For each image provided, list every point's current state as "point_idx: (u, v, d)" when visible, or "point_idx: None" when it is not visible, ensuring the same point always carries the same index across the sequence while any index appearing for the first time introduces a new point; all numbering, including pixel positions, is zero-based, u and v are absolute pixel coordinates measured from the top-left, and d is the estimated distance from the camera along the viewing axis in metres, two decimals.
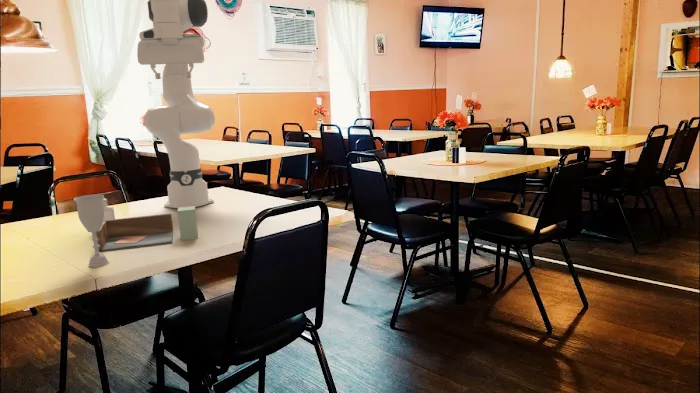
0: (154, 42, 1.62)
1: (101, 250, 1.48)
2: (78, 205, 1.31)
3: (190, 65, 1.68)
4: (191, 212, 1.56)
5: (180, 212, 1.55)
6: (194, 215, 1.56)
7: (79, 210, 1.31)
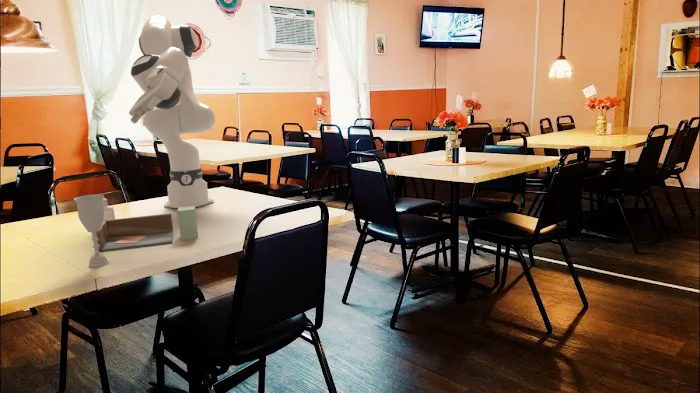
0: None
1: (101, 250, 1.48)
2: (78, 205, 1.31)
3: (140, 116, 1.62)
4: (191, 212, 1.56)
5: (180, 212, 1.55)
6: (194, 215, 1.56)
7: (79, 210, 1.31)
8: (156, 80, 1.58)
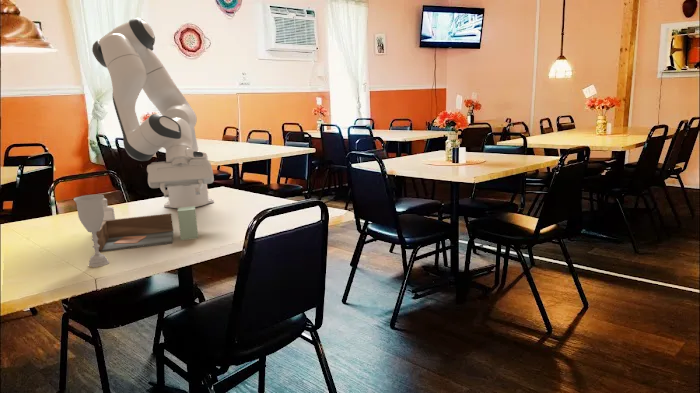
0: None
1: (101, 250, 1.48)
2: (78, 205, 1.31)
3: None
4: (191, 212, 1.56)
5: (180, 212, 1.55)
6: (194, 215, 1.56)
7: (79, 210, 1.31)
8: (194, 162, 1.69)
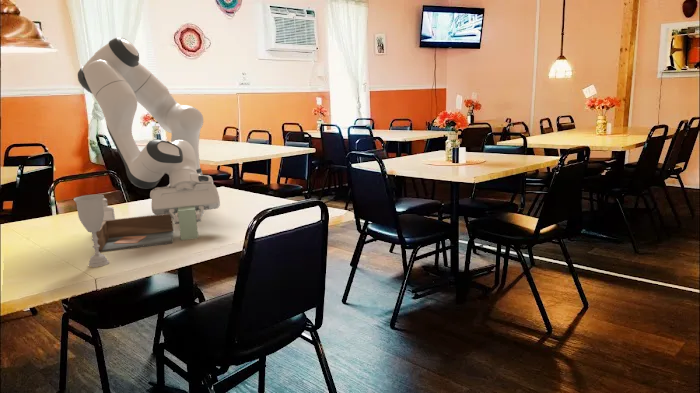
0: None
1: (101, 250, 1.48)
2: (78, 205, 1.31)
3: None
4: (191, 211, 1.56)
5: (180, 212, 1.55)
6: (194, 215, 1.56)
7: (79, 210, 1.31)
8: (199, 186, 1.63)
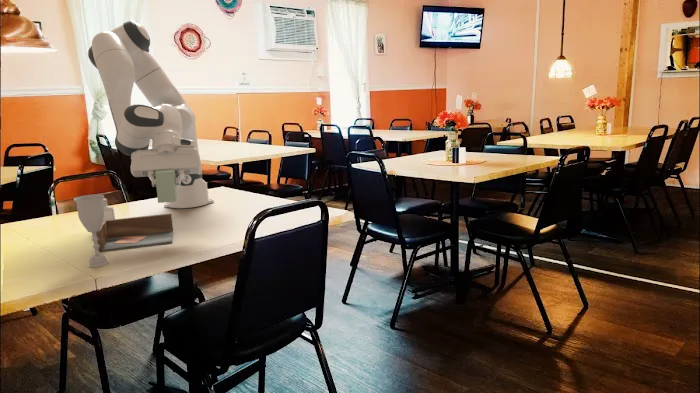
0: None
1: (101, 250, 1.48)
2: (78, 205, 1.31)
3: None
4: (169, 174, 1.52)
5: (158, 173, 1.51)
6: (172, 177, 1.52)
7: (79, 210, 1.31)
8: (181, 150, 1.59)
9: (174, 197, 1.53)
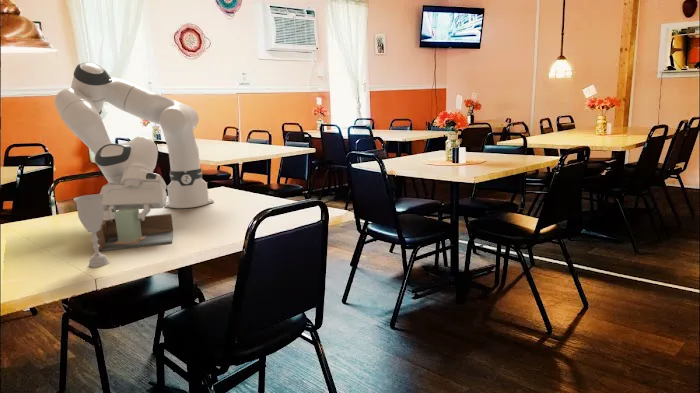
0: None
1: (101, 250, 1.48)
2: (78, 205, 1.31)
3: None
4: (127, 214, 1.52)
5: (117, 214, 1.52)
6: (130, 218, 1.52)
7: (79, 210, 1.31)
8: (145, 184, 1.58)
9: (133, 237, 1.54)
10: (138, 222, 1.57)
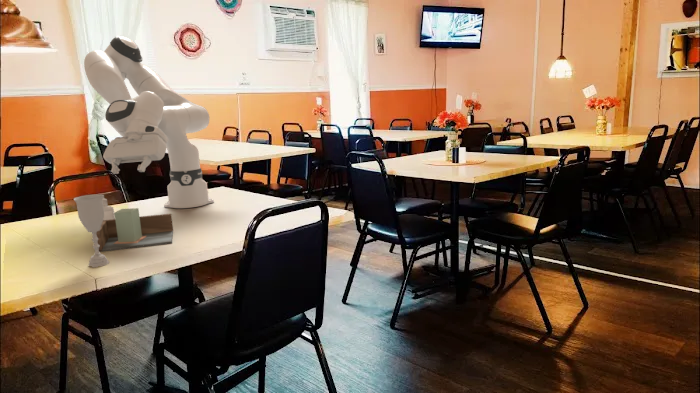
0: None
1: (101, 250, 1.48)
2: (78, 205, 1.31)
3: None
4: (127, 214, 1.52)
5: (117, 214, 1.52)
6: (130, 218, 1.52)
7: (79, 210, 1.31)
8: (145, 137, 1.62)
9: (133, 237, 1.54)
10: (138, 222, 1.57)
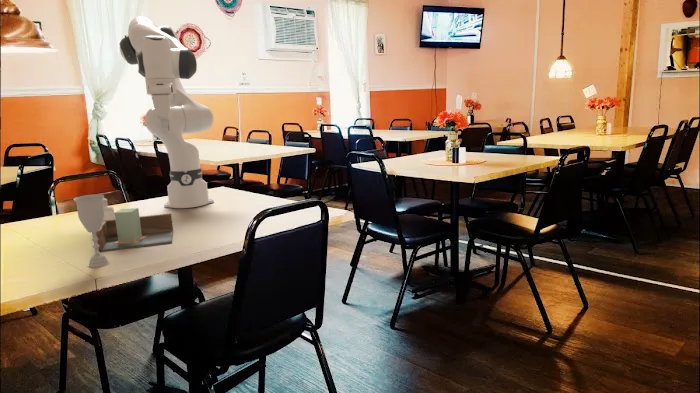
0: (170, 97, 1.61)
1: (101, 250, 1.48)
2: (78, 205, 1.31)
3: (168, 119, 1.72)
4: (127, 214, 1.52)
5: (117, 214, 1.52)
6: (130, 218, 1.52)
7: (79, 210, 1.31)
8: None
9: (133, 237, 1.54)
10: (138, 222, 1.57)
